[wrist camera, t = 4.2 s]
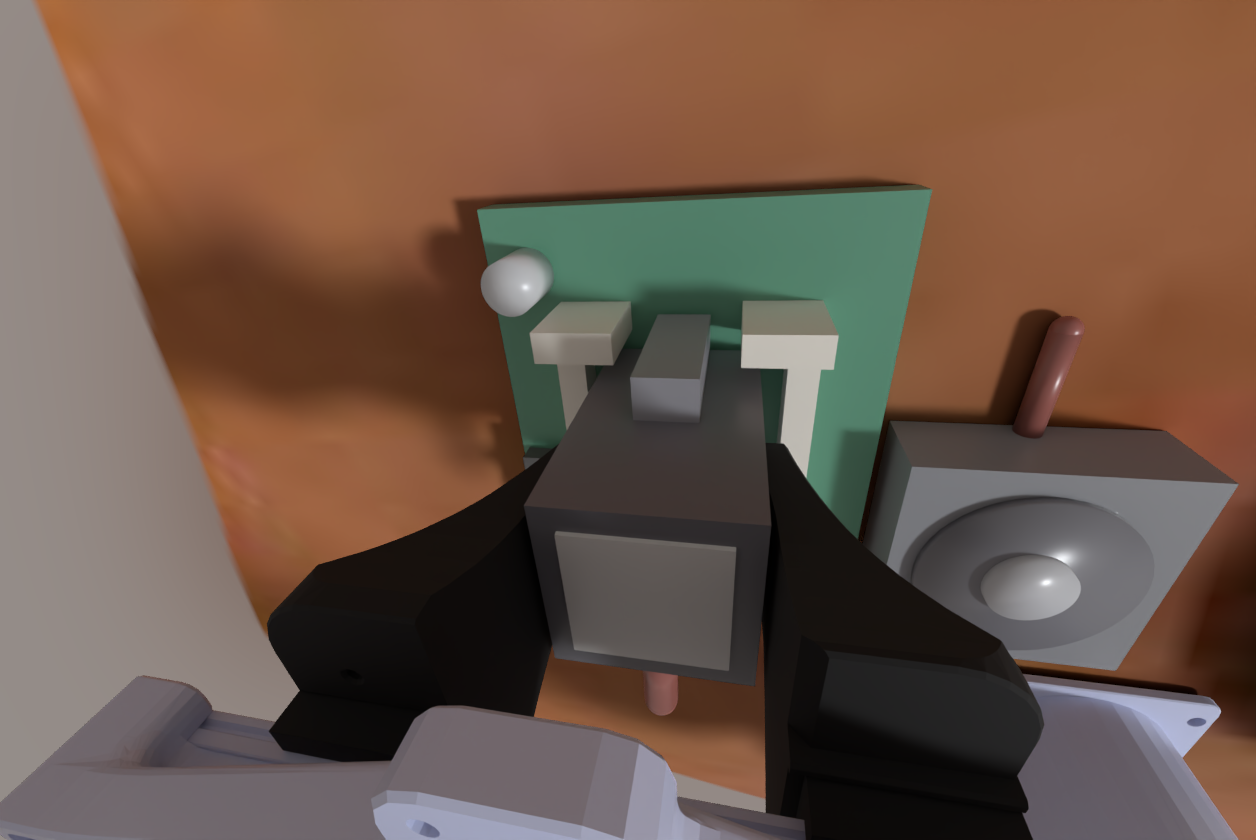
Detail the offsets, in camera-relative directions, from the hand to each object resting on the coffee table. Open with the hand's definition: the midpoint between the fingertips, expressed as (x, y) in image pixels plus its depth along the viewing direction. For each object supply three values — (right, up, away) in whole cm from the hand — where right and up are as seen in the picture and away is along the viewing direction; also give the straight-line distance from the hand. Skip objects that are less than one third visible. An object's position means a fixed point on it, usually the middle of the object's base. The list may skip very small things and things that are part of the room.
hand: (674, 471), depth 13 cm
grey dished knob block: (+10, 0, +3) cm, 11 cm away
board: (+1, +2, +3) cm, 4 cm away
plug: (0, +2, +2) cm, 3 cm away
